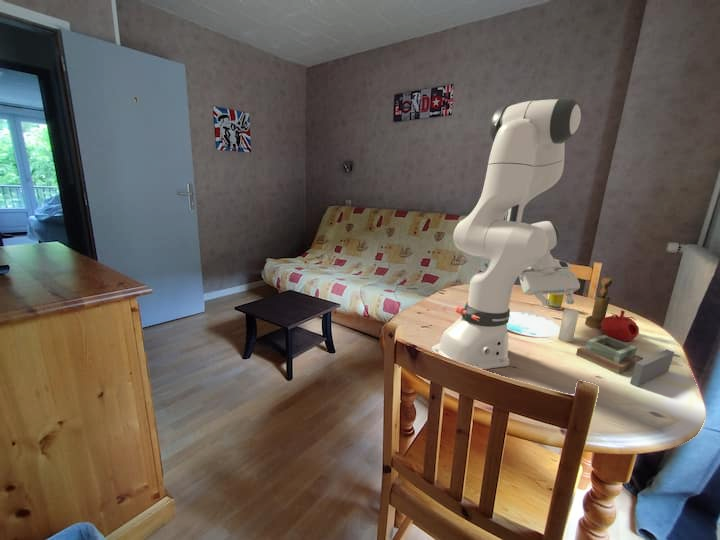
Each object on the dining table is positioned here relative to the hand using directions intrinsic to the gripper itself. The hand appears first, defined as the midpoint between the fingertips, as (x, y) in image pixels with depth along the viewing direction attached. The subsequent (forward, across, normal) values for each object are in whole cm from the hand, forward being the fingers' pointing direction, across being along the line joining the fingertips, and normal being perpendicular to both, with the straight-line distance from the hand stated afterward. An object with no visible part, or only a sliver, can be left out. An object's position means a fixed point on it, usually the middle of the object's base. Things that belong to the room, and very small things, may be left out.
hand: (559, 304), depth 106 cm
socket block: (+20, +2, -5) cm, 21 cm away
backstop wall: (+27, +5, -12) cm, 30 cm away
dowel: (+11, 0, +4) cm, 11 cm away
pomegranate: (+12, +19, +3) cm, 22 cm away
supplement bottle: (-7, +18, +22) cm, 29 cm away
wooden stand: (+6, +20, +9) cm, 22 cm away
